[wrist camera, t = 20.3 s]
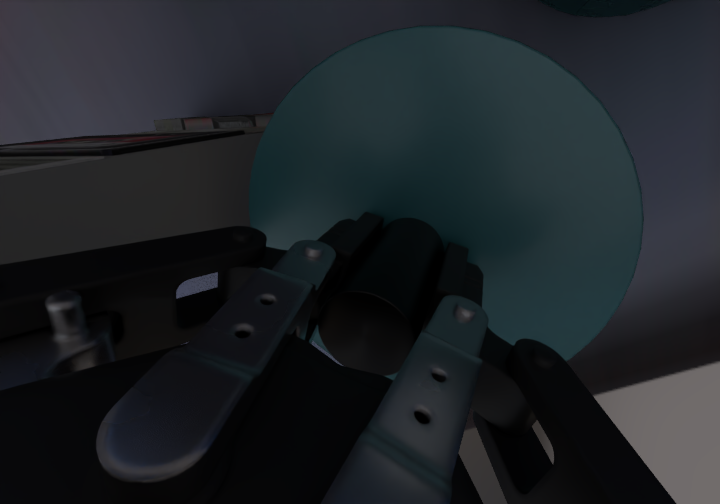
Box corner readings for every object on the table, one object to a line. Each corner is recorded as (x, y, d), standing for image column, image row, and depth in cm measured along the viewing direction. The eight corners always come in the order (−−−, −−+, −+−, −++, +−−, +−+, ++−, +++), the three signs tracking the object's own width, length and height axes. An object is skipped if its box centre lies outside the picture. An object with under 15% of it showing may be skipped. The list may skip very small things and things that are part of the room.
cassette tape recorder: (329, 109, 25) (-547, 191, 4) (336, 190, 28) (-189, 506, 7) (186, 117, 30) (-571, 176, 9) (203, 186, 33) (-357, 363, 11)
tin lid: (252, 305, 19) (150, 396, 13) (282, -13, 12) (94, -105, 6) (513, 422, 16) (524, 599, 11) (750, 98, 9) (1156, 111, 4)
